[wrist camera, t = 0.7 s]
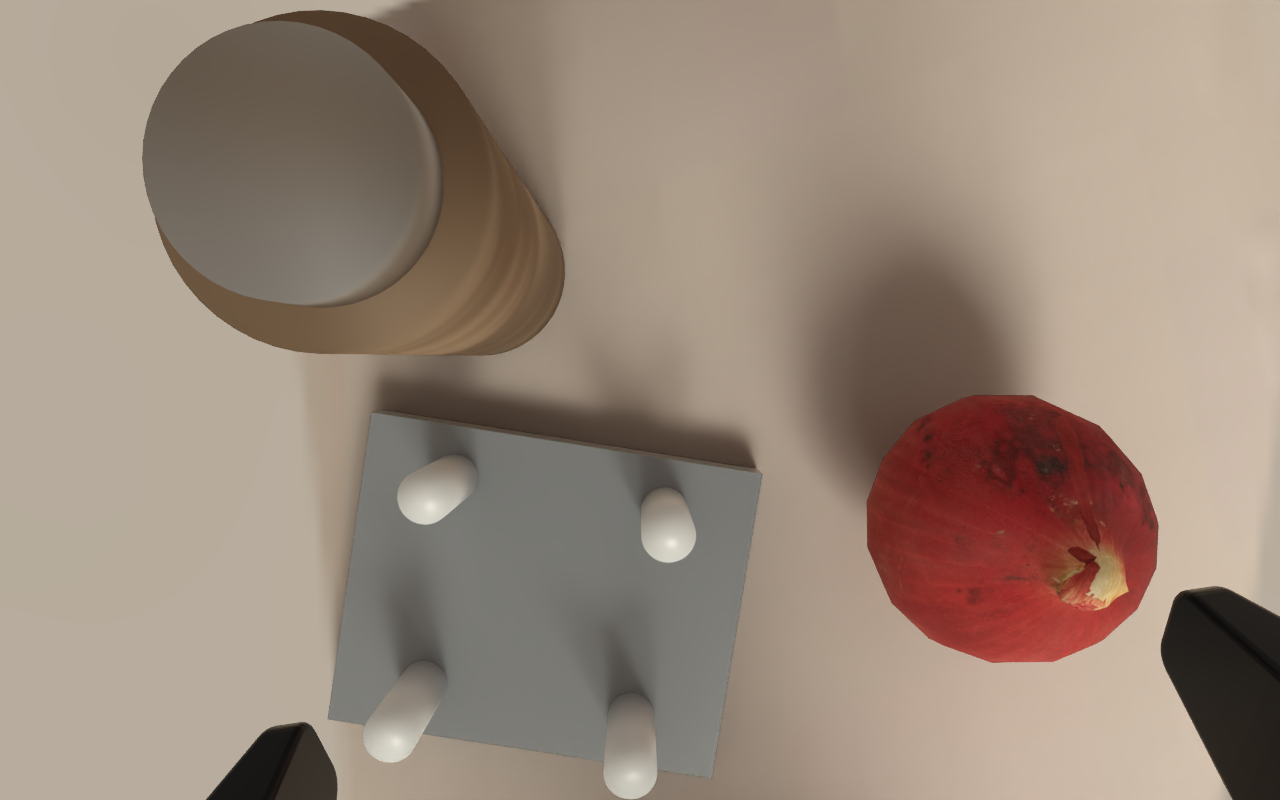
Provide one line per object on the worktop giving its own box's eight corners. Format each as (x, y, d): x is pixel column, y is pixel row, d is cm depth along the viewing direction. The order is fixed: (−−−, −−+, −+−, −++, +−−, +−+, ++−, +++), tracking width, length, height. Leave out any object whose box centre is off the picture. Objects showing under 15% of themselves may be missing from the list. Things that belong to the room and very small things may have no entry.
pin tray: (708, 759, 23) (723, 845, 19) (341, 703, 23) (277, 777, 19) (756, 468, 22) (783, 493, 18) (383, 410, 22) (327, 421, 18)
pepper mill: (550, 367, 22) (442, 381, 10) (385, 341, 22) (68, 320, 10) (576, 200, 22) (498, 0, 10) (409, 174, 22) (115, -62, 10)
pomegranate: (833, 390, 22) (942, 409, 14) (1050, 387, 22) (1281, 403, 14) (834, 607, 23) (941, 744, 15) (1048, 604, 23) (1274, 739, 15)
